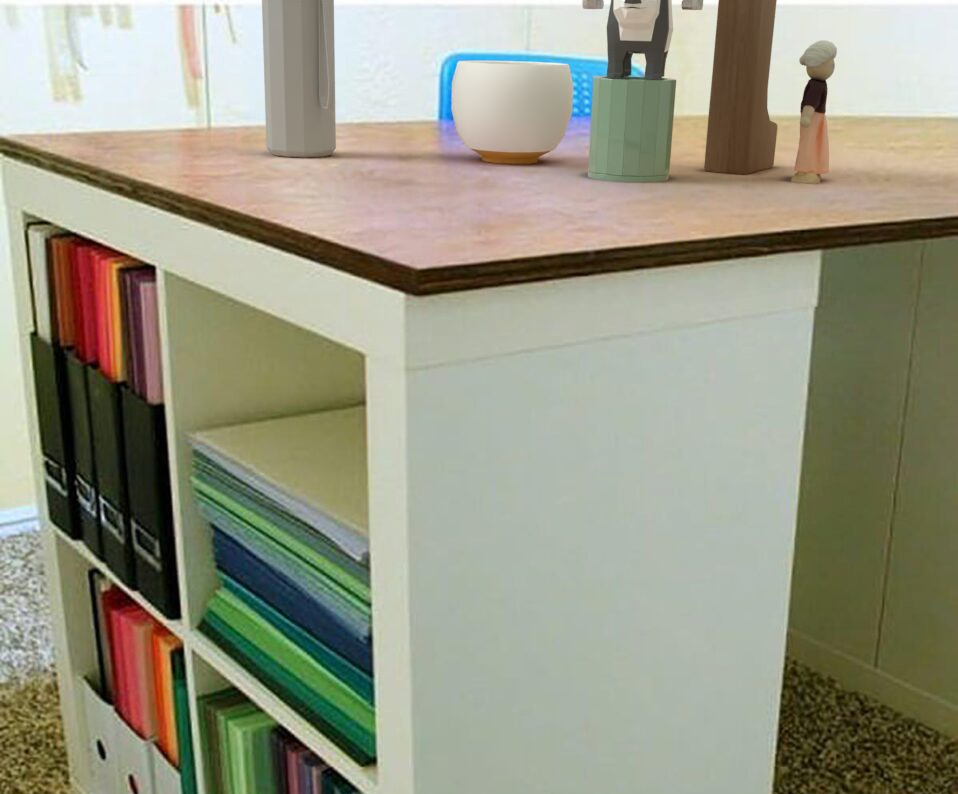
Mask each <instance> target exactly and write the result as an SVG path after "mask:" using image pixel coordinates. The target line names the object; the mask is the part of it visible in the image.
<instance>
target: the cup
mask: <svg viewBox="0 0 958 794" xmlns="http://www.w3.org/2000/svg"><path fill="white" fill-rule="evenodd" d="M573 102H574V82H573V78H572V72H571V67H570V65H569V64H568V63H563V62H562V63H561V62H546V61H523V60H459V61H457V63H456V66H455V70H454V74H453V77H452V81H451V104H450V106H451V107H450V108H451V114H452V118H453V121H454V125H455V129H456V134H457V135H458V136H459V138H460V140H461V141H462V143H463V144H464V146H465V147H466V148H467V149H469V150H471V151H473V152H475V153H477V154H478V155H479V156H481V160H482V161H483V162H485V163H490V164H498V165H499V164H502V165H530V164H531V165H532V164H537V163H538V162H539V158H540V157H542V156H544V155H546V154H548V153H551V152H553V151H554V150H556V148H557V147H558V146H559V145H560V143H561V141H562V140H563V139H564V137H565V136H566V133H567V130H568V127H569V124H570V121H571V117H572V115H573V104H574V103H573Z"/></svg>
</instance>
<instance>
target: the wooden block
mask: <svg viewBox="0 0 958 794" xmlns="http://www.w3.org/2000/svg"><path fill="white" fill-rule="evenodd" d="M777 1H778V0H718V2H717V3H718V5H717V16H716V25H715V26H716V27H715V29H716V30H715V38H714V50H713V61H712V62H713V63H712V73H711V74H712V75H711V83H710V94H709V95H710V96H709V104H708V105H709V107H708V116H707V117H708V118H707V128H706V129H707V131H706V141H705V153H704V167H703V168H704V171H705V172H708V173H719V174H720V173H721V174H731V175H732V174H733V175H741V176H744V175H748V174H753V173H756V172H760V171H764V170H767V169H771V168H773V167H774V164H775V155H776V145H777V137H778V129H779V128H778V124H777V123H776V122H775V121H772V120H771V119H770V113H769V110H768V93H769V92H768V89H769V80H770V79H769V78H770V70H771V61H772V60H771V59H772V51H773V50H772V49H773V41H774V40H773V39H774V31H775V19H776V10H777Z"/></svg>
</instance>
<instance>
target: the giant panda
mask: <svg viewBox="0 0 958 794" xmlns="http://www.w3.org/2000/svg"><path fill="white" fill-rule="evenodd" d="M673 18H674V17H673V1H672V0H610V5H609V11H608V16H607V23H606V43H607V44H606V46H607V48H606V49H607V69H606V76H607V78H612V79H613V78H615V79H621V78H624V76H632V58H633V54H635V55H637V54H638V55H644V59H645V68H644V76H643V77H644V79H646V80H660V79H662V78H665V71H666V70H665V69H666V63H667V57H668V54H669V51H670V46H671V43H672V42H671V41H672V37H673V32H674V20H673Z"/></svg>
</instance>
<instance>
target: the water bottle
mask: <svg viewBox="0 0 958 794" xmlns="http://www.w3.org/2000/svg"><path fill="white" fill-rule="evenodd" d="M261 13H262V14H261V18H262V20H261V21H262V50H263V51H262V52H263V76H264V77H263V79H264V83H263V84H264V108H265V109H264V113H265V115H264V116H265V143H266V144H265V145H266V150H267V151H268V152H269V153H270V154H271V155H273V156H276V157H279V158H280V157H282V158H295V159H296V158H297V159H310V158H311V159H312V158H313V159H314V158H326V157H329V156H331V155H332V154H333V153H334V152H335V150H336V148H337V141H336V140H337V139H336V138H337V136H336V135H337V134H336V133H337V132H336V131H337V130H336V68H335V67H336V65H335V63H336V62H335V60H336V59H335V58H336V57H335V0H261Z"/></svg>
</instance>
